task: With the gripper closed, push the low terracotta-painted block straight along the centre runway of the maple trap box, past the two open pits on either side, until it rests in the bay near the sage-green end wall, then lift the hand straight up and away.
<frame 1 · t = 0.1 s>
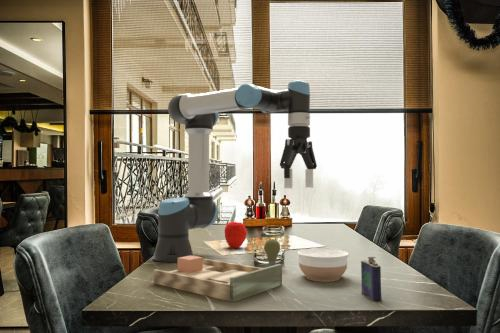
hand: (299, 188, 148), 28 cm above the table, fingers open, 13 cm apart
flask: (371, 298, 114), on the table
apple: (235, 248, 193), on the table
block: (190, 270, 135), point 2 cm above the table, touching trap box
bowl: (322, 278, 136), on the table
light bulb: (272, 268, 150), on the table
trap box: (215, 283, 128), on the table
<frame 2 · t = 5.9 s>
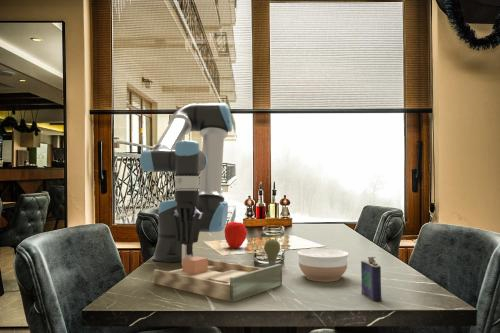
hand: (186, 264, 135), 4 cm above the table, fingers closed
block: (195, 271, 133), point 3 cm above the table, touching gripper
everything else where it was.
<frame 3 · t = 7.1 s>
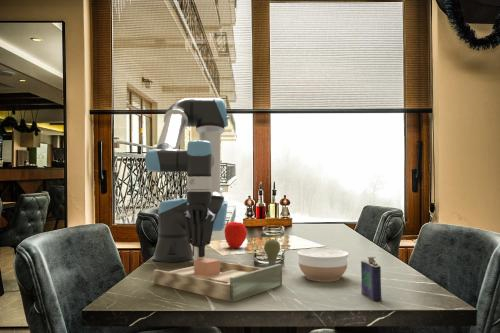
hand: (198, 267, 132), 4 cm above the table, fingers closed
block: (207, 273, 130), point 2 cm above the table, touching gripper, trap box
everything else where it was.
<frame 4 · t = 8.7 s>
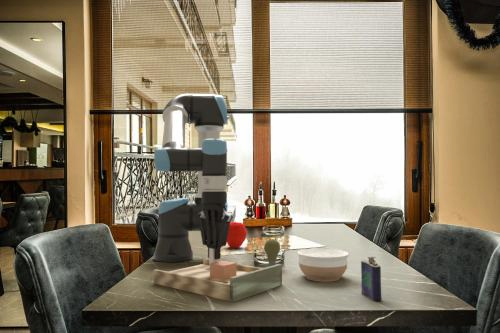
hand: (214, 269, 128), 4 cm above the table, fingers closed
block: (223, 276, 126), point 3 cm above the table
everything else where it was.
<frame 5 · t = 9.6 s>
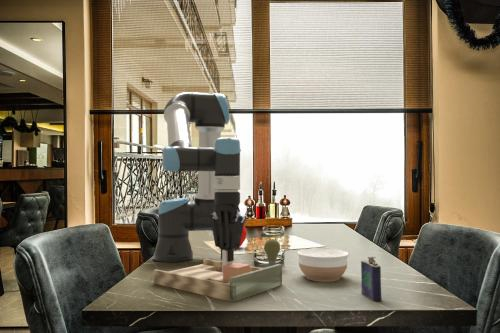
hand: (227, 272, 125), 4 cm above the table, fingers closed
block: (236, 279, 123), point 3 cm above the table
everything else where it was.
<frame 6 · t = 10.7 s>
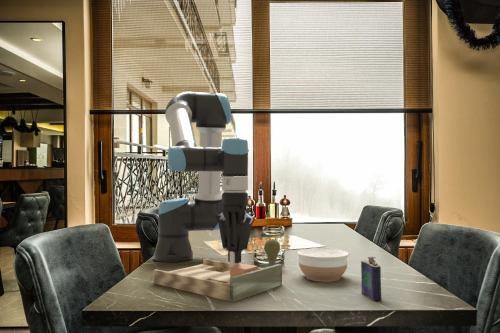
hand: (234, 273, 123), 4 cm above the table, fingers closed
block: (244, 280, 121), point 2 cm above the table, touching gripper, trap box
everything else where it was.
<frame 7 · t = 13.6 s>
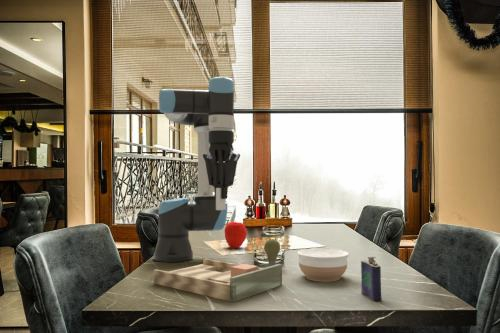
hand: (220, 209, 128), 22 cm above the table, fingers closed
block: (244, 280, 121), point 2 cm above the table, touching trap box
everything else where it was.
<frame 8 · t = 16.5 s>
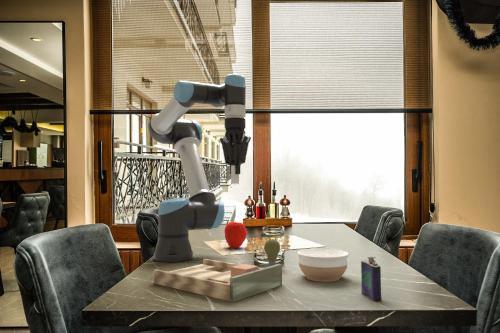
hand: (235, 183, 154), 29 cm above the table, fingers closed
nothing on the table moved.
at the end: block inside the target area on the trap box (0.1 cm from its centre), point 2.5 cm above the trap box's base; block tilted 0° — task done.
